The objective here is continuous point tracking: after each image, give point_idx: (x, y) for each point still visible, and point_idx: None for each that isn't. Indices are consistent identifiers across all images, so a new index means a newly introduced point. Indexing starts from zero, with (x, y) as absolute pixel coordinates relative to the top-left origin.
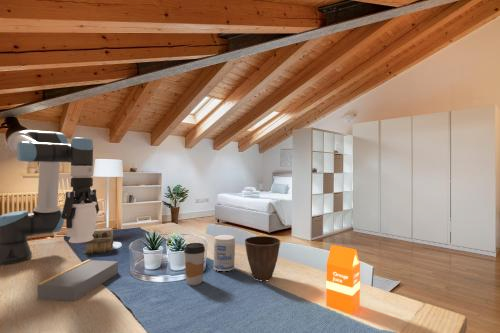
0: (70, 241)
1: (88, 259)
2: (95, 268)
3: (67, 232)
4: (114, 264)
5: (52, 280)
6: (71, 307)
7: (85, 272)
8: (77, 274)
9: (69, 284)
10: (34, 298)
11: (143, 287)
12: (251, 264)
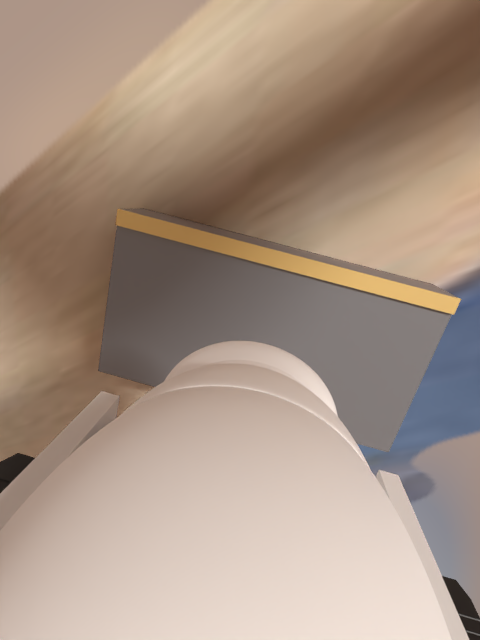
0: (170, 374)
1: (459, 299)
2: None
3: (79, 418)
4: (356, 441)
5: (162, 250)
6: (83, 357)
7: None
8: (228, 329)
9: (120, 342)
10: (148, 192)
11: None
12: None
